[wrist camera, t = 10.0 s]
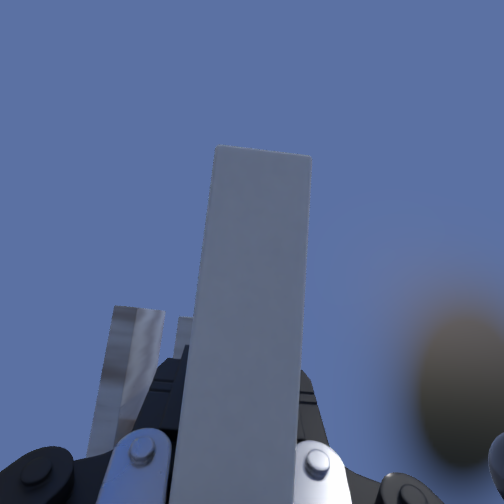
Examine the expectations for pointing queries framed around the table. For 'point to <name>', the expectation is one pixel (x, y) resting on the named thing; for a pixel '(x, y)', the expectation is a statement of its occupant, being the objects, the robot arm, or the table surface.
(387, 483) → the robot arm
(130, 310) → the book stand
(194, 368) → the white book
